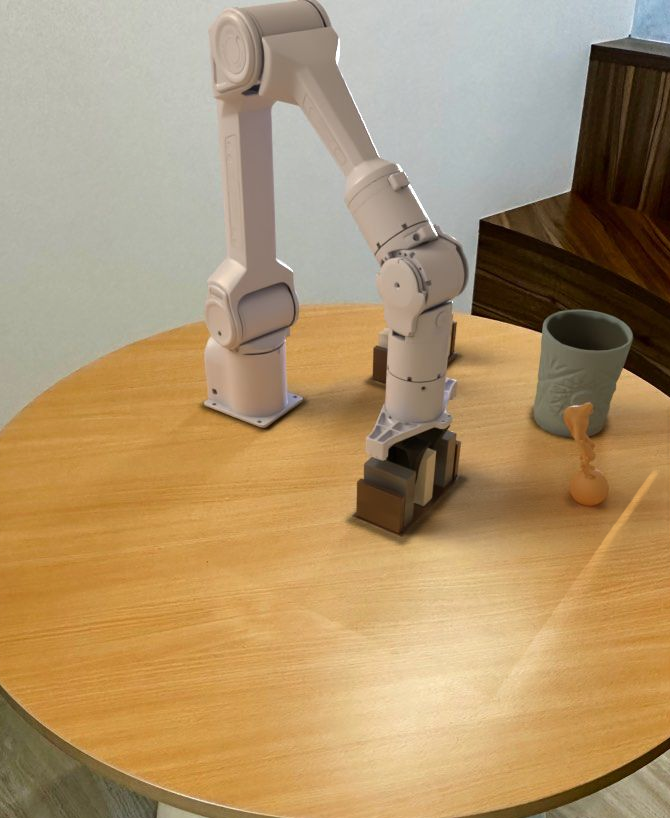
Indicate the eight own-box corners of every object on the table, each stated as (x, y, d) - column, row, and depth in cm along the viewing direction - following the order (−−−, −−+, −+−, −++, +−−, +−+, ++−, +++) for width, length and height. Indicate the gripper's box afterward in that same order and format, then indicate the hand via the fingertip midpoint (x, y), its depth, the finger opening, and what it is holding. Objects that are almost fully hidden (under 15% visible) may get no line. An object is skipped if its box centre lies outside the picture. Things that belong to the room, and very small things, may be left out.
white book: (383, 490, 94) (385, 443, 91) (392, 482, 96) (394, 435, 92) (423, 506, 92) (427, 459, 89) (432, 498, 94) (436, 450, 90)
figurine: (607, 528, 91) (631, 429, 84) (548, 521, 92) (567, 423, 84) (602, 481, 97) (625, 385, 90) (547, 476, 98) (565, 380, 90)
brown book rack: (351, 520, 91) (352, 468, 87) (414, 462, 100) (417, 412, 96) (401, 541, 89) (404, 488, 85) (461, 480, 97) (466, 429, 93)
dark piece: (368, 382, 113) (369, 335, 109) (418, 344, 122) (421, 299, 118) (408, 396, 111) (411, 348, 107) (457, 356, 119) (461, 310, 115)
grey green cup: (558, 389, 113) (574, 301, 105) (628, 419, 107) (650, 329, 100) (511, 419, 107) (525, 328, 99) (582, 453, 102) (602, 359, 94)
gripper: (414, 413, 78) (406, 532, 87) (488, 349, 87) (474, 463, 96) (347, 389, 81) (346, 507, 90) (426, 330, 90) (418, 442, 99)
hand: (409, 483), depth 93 cm, fingers closed on white book, 2 cm apart
